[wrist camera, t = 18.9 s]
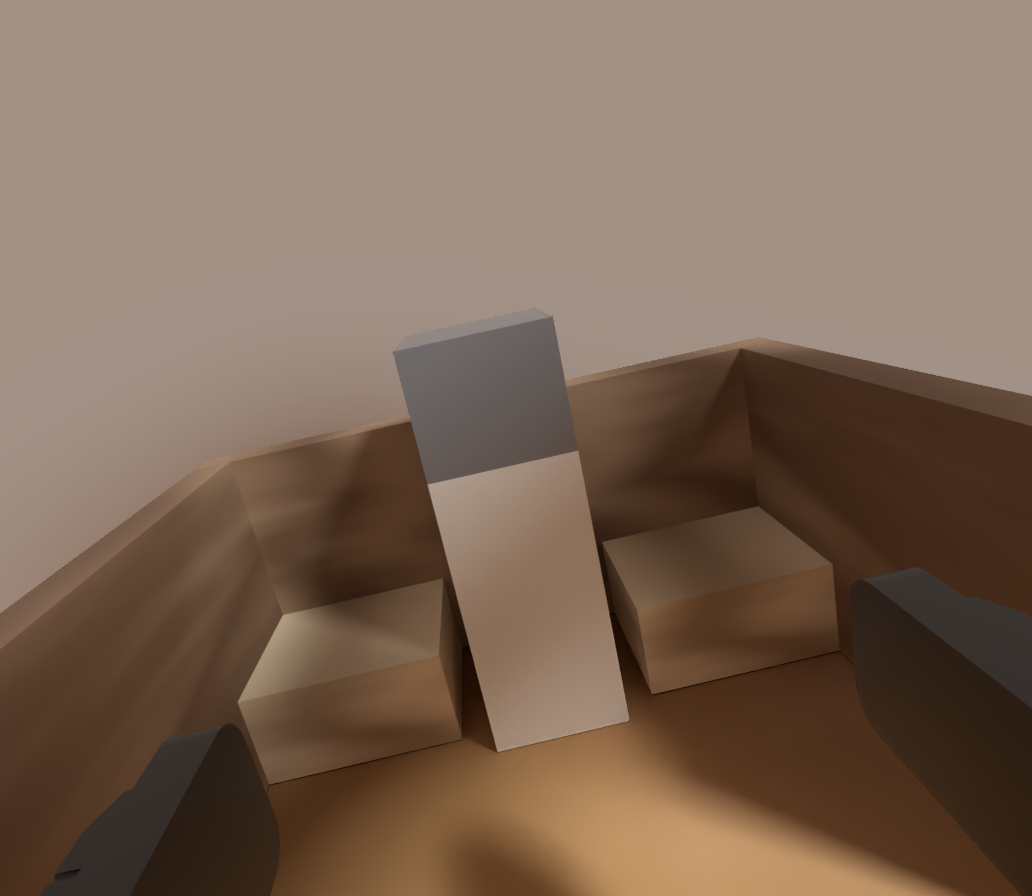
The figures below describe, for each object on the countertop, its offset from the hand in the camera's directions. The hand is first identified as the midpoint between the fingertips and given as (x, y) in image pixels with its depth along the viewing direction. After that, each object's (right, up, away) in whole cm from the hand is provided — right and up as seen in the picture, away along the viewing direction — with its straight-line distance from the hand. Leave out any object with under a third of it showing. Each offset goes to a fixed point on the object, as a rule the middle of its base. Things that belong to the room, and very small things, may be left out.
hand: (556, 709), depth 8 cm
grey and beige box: (+1, -5, +13) cm, 13 cm away
